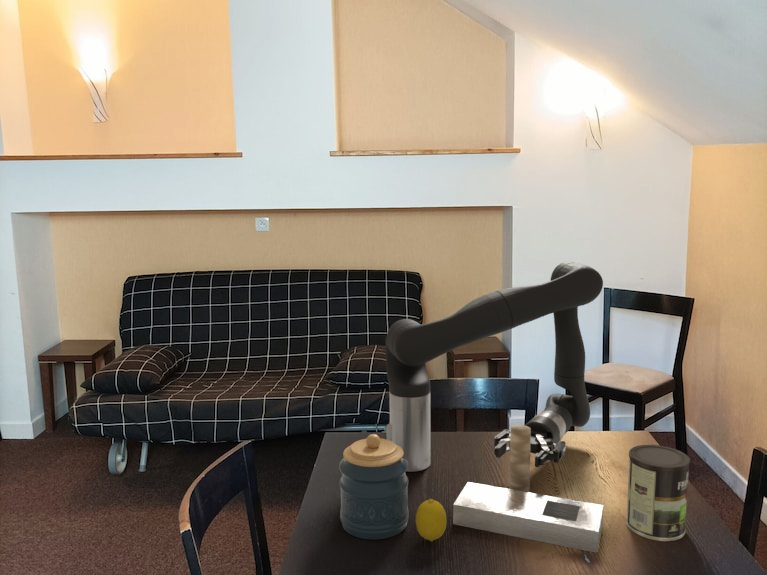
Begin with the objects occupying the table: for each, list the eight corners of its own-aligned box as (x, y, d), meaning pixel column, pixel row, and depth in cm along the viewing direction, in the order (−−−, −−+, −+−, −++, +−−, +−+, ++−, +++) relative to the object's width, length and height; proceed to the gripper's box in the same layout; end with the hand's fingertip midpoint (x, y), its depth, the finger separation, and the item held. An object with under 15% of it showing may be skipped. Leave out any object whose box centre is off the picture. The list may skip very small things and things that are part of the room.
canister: (396, 546, 116) (395, 452, 113) (329, 535, 120) (327, 444, 117) (416, 511, 128) (416, 426, 125) (355, 502, 132) (353, 419, 129)
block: (453, 524, 123) (453, 504, 122) (467, 500, 132) (467, 481, 132) (597, 553, 113) (598, 531, 112) (602, 525, 122) (603, 505, 121)
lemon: (449, 535, 119) (449, 494, 118) (442, 551, 114) (442, 509, 113) (420, 530, 121) (420, 490, 120) (412, 546, 116) (411, 504, 115)
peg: (507, 495, 134) (508, 430, 132) (511, 487, 138) (513, 423, 135) (527, 498, 132) (528, 433, 130) (530, 490, 136) (532, 426, 134)
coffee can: (689, 521, 123) (693, 450, 121) (681, 547, 114) (685, 472, 112) (631, 508, 128) (635, 440, 126) (619, 532, 120) (623, 459, 117)
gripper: (514, 409, 149) (484, 433, 135) (576, 421, 141) (551, 447, 128) (513, 441, 150) (483, 467, 137) (575, 454, 142) (550, 483, 129)
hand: (516, 457), depth 132 cm, fingers open, 8 cm apart
